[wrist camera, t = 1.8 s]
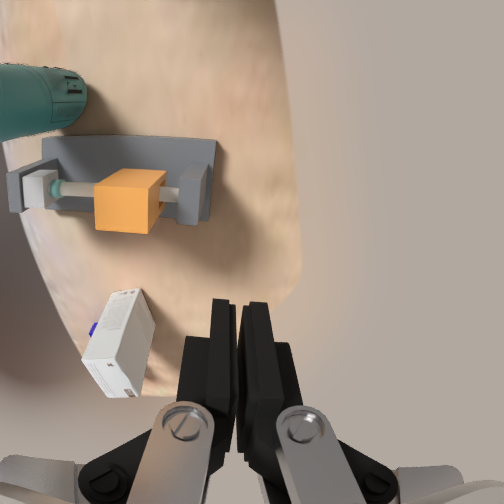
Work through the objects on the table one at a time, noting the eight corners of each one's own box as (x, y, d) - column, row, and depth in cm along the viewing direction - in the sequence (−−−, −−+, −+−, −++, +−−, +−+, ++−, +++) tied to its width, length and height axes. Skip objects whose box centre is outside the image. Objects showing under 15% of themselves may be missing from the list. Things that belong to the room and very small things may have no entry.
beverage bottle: (107, 95, 26) (-35, 98, 8) (67, 141, 28) (-73, 195, 10) (72, 58, 24) (-68, 40, 6) (36, 104, 25) (-105, 131, 7)
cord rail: (48, 136, 27) (1, 149, 19) (216, 140, 29) (210, 150, 21) (50, 205, 30) (9, 233, 23) (209, 216, 33) (201, 252, 25)
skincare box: (111, 291, 36) (75, 358, 25) (142, 285, 36) (113, 356, 25) (129, 329, 38) (104, 399, 28) (159, 325, 38) (140, 398, 27)
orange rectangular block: (122, 168, 24) (93, 185, 19) (166, 170, 25) (148, 188, 19) (122, 203, 26) (95, 229, 20) (164, 206, 26) (147, 234, 21)
